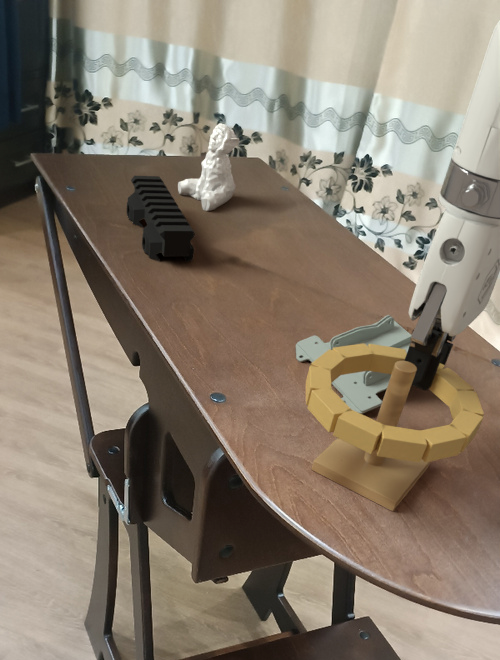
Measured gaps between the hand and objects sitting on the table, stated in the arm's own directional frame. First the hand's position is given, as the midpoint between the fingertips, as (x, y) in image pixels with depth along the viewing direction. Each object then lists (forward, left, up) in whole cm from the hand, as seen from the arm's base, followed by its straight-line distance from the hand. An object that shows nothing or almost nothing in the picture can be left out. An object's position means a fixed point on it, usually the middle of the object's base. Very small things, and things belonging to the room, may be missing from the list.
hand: (419, 377), depth 71 cm
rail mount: (+50, -22, -8) cm, 55 cm away
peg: (0, +7, -8) cm, 10 cm away
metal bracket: (+8, -10, -8) cm, 15 cm away
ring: (0, +7, 0) cm, 7 cm away
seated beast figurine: (+54, -41, -8) cm, 68 cm away
